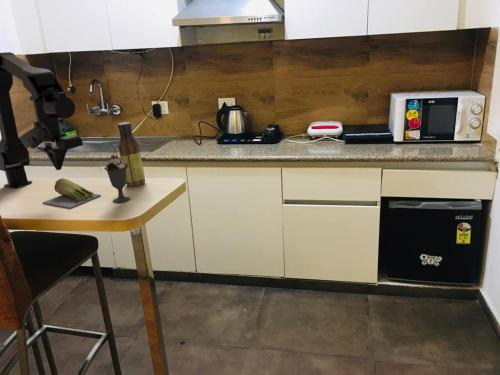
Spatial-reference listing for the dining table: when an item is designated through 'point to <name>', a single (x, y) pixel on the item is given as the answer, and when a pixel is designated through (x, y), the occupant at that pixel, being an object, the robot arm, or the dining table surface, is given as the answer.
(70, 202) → the mat
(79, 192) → the fennel bulb
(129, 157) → the sauce bottle
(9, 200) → the dining table surface
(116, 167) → the sundae
